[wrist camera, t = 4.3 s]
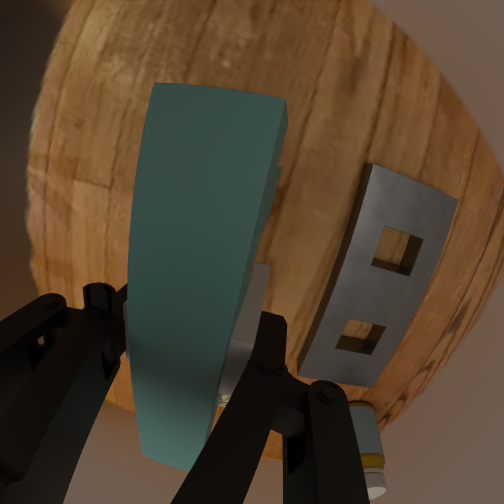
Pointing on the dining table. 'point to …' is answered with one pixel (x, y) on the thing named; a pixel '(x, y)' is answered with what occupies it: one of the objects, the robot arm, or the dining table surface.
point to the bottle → (369, 447)
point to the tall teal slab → (194, 252)
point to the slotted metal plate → (376, 277)
